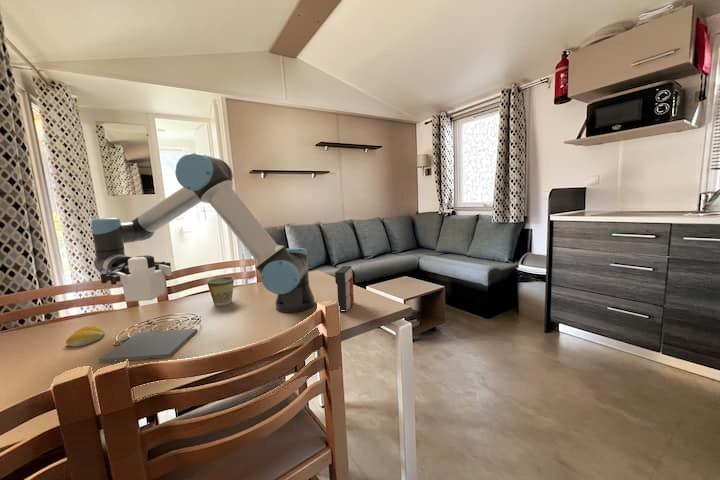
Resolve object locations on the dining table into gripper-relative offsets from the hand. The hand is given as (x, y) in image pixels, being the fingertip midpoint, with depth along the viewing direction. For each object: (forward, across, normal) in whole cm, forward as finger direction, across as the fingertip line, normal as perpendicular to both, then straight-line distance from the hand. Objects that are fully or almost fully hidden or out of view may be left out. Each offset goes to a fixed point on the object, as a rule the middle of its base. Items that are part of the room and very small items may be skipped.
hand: (149, 275), depth 81 cm
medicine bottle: (-4, 0, -7) cm, 8 cm away
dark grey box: (+26, -54, -22) cm, 64 cm away
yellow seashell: (-28, +10, -22) cm, 37 cm away
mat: (-4, 0, -22) cm, 22 cm away
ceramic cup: (-23, -33, -22) cm, 46 cm away
